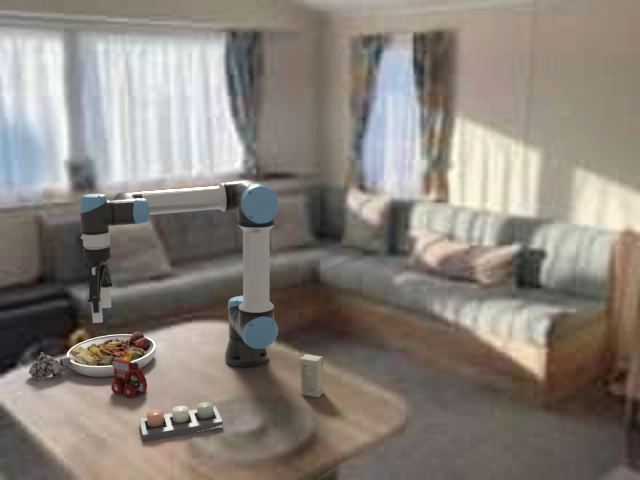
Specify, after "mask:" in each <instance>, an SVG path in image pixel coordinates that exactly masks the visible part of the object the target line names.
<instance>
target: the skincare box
mask: <svg viewBox="0 0 640 480" xmlns="http://www.w3.org/2000/svg"><path fill="white" fill-rule="evenodd" d="M299 367H300V368H299V369H300V393H301V395H303V396H307V397H313V398H320V397H321V396H322V395H323V393H324V392H325V386H324V382H325V381H324V358H323V356H321V355H316V354H308V353H305V354H303V356H301V357H300V358H299Z"/></svg>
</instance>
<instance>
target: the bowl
mask: <svg viewBox="0 0 640 480" xmlns="http://www.w3.org/2000/svg"><path fill="white" fill-rule="evenodd" d="M156 352H157V346H156V342H155V341H154V340H153V339H151V338H150V337H147V336H145V335H144V333H143V332H142V331H135V332H133V333H132V334H130V333H129V334H126V333H125V334H124V333H123V334H109V335H102V336H97V337H94V338H90V339H87V340H84V341H82V342H79V343H77V344H75V345H74V346H72V347H70V349H69V350H68V351H67V353H66V357H71V361H70V363H69V368H70V369H72V370H73V371H74V372H76V373H78V374H80V375H83V376H87V377H95V378H106V377H108V378H110V377H114V368H113V364H112V362H113V360H115V359H121V360H125V361H130V362H132V363H134V362H137V363H138V365H139V367H138V368H141V369H142V368H143V367H145V366H147V365H148V364H149V363H151V361H152V360H153V359H154V357H155V354H156ZM66 357H65V358H66Z"/></svg>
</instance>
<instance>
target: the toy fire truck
mask: <svg viewBox="0 0 640 480" xmlns="http://www.w3.org/2000/svg"><path fill="white" fill-rule="evenodd" d="M112 364H113V368H114V376H113V378H114V380H113V382H112V384H111V386H110V388H111V391H112V393H113V394H114V395H117V396H118V395H121V394H122V393H124V396H125V397H126V398H127V399H128V398H130V399H132V398H133V397H135V396H136V393H137V392H141V393H143V392H146V391H147V389H148V383H147V378H146V377H145V373H144V372H143V369H142V368H138V367H139V365H138V363H137V362H134V363H132V362H130V361H125V360H121V359H115V360H113V362H112Z"/></svg>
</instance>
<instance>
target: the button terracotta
mask: <svg viewBox="0 0 640 480" xmlns="http://www.w3.org/2000/svg"><path fill="white" fill-rule="evenodd" d="M164 414H165V413H164V411H163V410H161V409H151V410H149V411H147V413H146V417H147V425H148V426H151V427H152V428H157V427H160V426H162V424H163V423H164Z"/></svg>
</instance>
